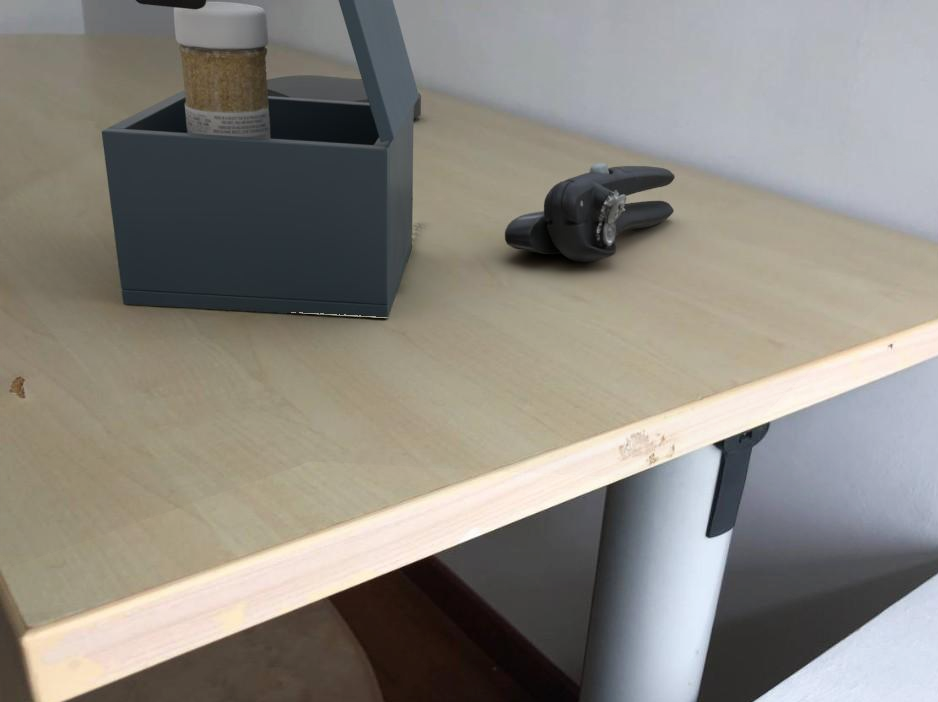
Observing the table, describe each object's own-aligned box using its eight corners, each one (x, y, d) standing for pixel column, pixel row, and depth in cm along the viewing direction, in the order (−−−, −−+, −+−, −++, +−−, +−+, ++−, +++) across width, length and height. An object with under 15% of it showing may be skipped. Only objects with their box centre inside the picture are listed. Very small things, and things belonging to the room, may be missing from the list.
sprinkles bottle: (274, 243, 59) (261, 1, 53) (283, 267, 55) (271, 10, 49) (193, 246, 57) (171, -2, 51) (197, 271, 53) (174, 6, 48)
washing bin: (122, 304, 51) (100, 130, 47) (195, 234, 62) (182, 90, 58) (387, 319, 51) (387, 149, 47) (412, 247, 62) (413, 105, 59)
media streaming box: (353, 97, 111) (353, 69, 110) (436, 120, 102) (437, 90, 101) (236, 106, 101) (234, 75, 100) (315, 132, 92) (314, 99, 91)
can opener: (585, 284, 58) (594, 191, 56) (490, 258, 62) (494, 168, 59) (708, 226, 72) (720, 149, 69) (625, 207, 75) (633, 132, 73)
